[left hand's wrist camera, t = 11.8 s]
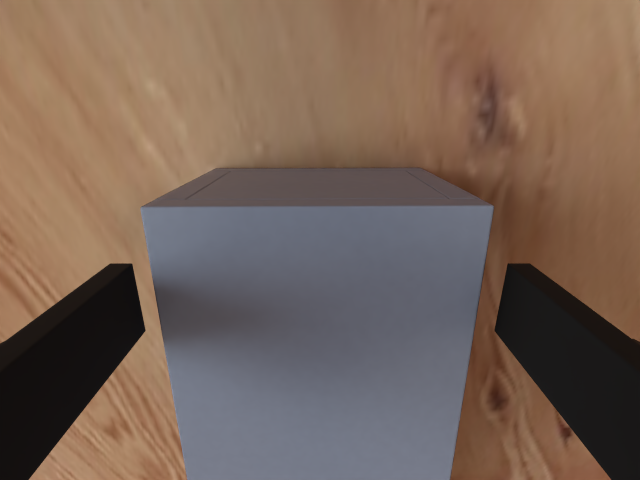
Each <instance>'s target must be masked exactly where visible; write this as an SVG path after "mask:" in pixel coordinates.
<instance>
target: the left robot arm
mask: <svg viewBox="0 0 640 480" xmlns="http://www.w3.org/2000/svg"><path fill="white" fill-rule="evenodd" d="M144 332H145V326H144V321H143V316H142V311H141V306H140V301H139V296H138V291H137V286H136V280H135V275H134V270H133V265H132V264H109V265H108V266H106V267H105V268H104V269H102V270H101V271H100V272H98V273H97V274H96V275H94V276H93V277H91V278H90V279H89V280H87V281H86V282H85V283H83V284H82V285H81V286H79V287H78V288H77V289H75V290H74V291H73V292H71V293H70V294H68V295H67V296H66V297H64V298H63V299H62V300H60V301H59V302H58V303H56V304H55V305H54V306H52V307H51V308H50V309H48V310H47V311H45V312H44V313H43V314H41V315H40V316H39V317H37V318H36V319H35V320H33V321H32V322H31V323H29V324H28V325H27V326H25V327H24V328H22V329H21V330H20V331H18V332H17V333H16V334H14V335H13V336H12V337H10V338H9V339H8V340H6V341H4V342H2V343H0V480H29V478H30V477H31V476H32V475H33V473H34V472H35V471H36V470H37V468H38V467H39V466H40V464H41V463H42V462H43V461H44V459H45V458H46V457H47V456H48V454H49V453H50V452H51V450H52V449H53V448H54V447H55V445H56V444H57V443H58V442H59V440H60V439H61V438H62V436H63V435H64V434H65V433H66V431H67V430H68V429H69V428H70V426H71V425H72V424H73V422H74V421H75V420H76V419H77V417H78V416H79V415H80V413H81V412H82V411H83V410H84V408H85V407H86V406H87V405H88V403H89V402H90V401H91V399H92V398H93V397H94V396H95V394H96V393H97V392H98V391H99V389H100V388H101V387H102V385H103V384H104V383H105V382H106V380H107V379H108V378H109V377H110V375H111V374H112V373H113V371H114V370H115V369H116V368H117V366H118V365H119V364H120V363H121V361H122V360H123V359H124V357H125V356H126V355H127V354H128V352H129V351H130V350H131V349H132V347H133V346H134V345H135V343H136V342H137V341H138V340H139V338H140V337H141V336H142V335H143V333H144ZM495 332H496V333H497V335H498V336H499V337H500V338H501V340H502V341H503V342H504V343H505V345H506V346H507V347H508V349H509V350H510V351H511V352H512V354H513V355H514V356H515V357H516V359H517V360H518V361H519V363H520V364H521V365H522V366H523V368H524V369H525V370H526V371H527V373H528V374H529V375H530V377H531V378H532V379H533V380H534V382H535V383H536V384H537V385H538V387H539V388H540V389H541V391H542V392H543V393H544V394H545V396H546V397H547V398H548V399H549V401H550V402H551V403H552V405H553V406H554V407H555V408H556V410H557V411H558V412H559V413H560V415H561V416H562V417H563V419H564V420H565V421H566V422H567V424H568V425H569V426H570V428H571V429H572V430H573V431H574V433H575V434H576V435H577V436H578V438H579V439H580V440H581V442H582V443H583V444H584V445H585V447H586V448H587V449H588V450H589V452H590V453H591V454H592V456H593V457H594V458H595V459H596V461H597V462H598V463H599V464H600V466H601V467H602V468H603V470H604V471H605V472H606V473H607V475H608V476H609V477H610V478H611V480H640V342H639V341H637V340H635V339H631V338H630V337H628V336H627V335H626V334H624V333H623V332H622V331H620V330H619V329H618V328H616V327H615V326H613V325H612V324H611V323H609V322H608V321H607V320H605V319H604V318H603V317H601V316H600V315H599V314H597V313H596V312H595V311H593V310H592V309H590V308H589V307H588V306H586V305H585V304H584V303H582V302H581V301H580V300H578V299H577V298H576V297H574V296H573V295H572V294H570V293H569V292H567V291H566V290H565V289H563V288H562V287H561V286H559V285H558V284H557V283H555V282H554V281H553V280H551V279H550V278H549V277H547V276H546V275H544V274H543V273H542V272H540V271H539V270H538V269H536V268H535V267H534V266H532V265H531V264H508V265H507V270H506V275H505V280H504V285H503V291H502V296H501V301H500V306H499V311H498V316H497V321H496V326H495Z"/></svg>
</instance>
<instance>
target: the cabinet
mask: <svg viewBox="0 0 640 480" xmlns="http://www.w3.org/2000/svg"><path fill="white" fill-rule="evenodd" d="M493 211H494V206H493V205H491V204H489V203H487V202H485V201H483V200H482V199H480V198H478V197H476V196H474V195H472V194H470V193H468V192H467V191H465V190H463V189H461V188H459V187H457V186H455V185H453V184H451V183H449V182H447V181H445V180H443V179H441V178H439V177H437V176H435V175H434V174H432V173H430V172H428V171H426V170H424V169H422V168H216V169H214V170H212V171H210V172H208V173H206V174H204V175H202V176H200V177H198V178H196V179H194V180H192V181H190V182H188V183H186V184H184V185H182V186H180V187H179V188H177V189H175V190H173V191H171V192H169V193H167V194H165V195H163V196H161V197H159V198H157V199H155V200H154V201H152V202H150V203H148V204H146V205H144V206H142V207H141V214H142V220H143V226H144V231H145V237H146V243H147V249H148V254H149V260H150V266H151V272H152V278H153V283H154V289H155V295H156V301H157V307H158V312H159V318H160V324H161V330H162V336H163V341H164V347H165V353H166V359H167V364H168V370H169V376H170V382H171V388H172V393H173V399H174V405H175V411H176V417H177V422H178V428H179V434H180V440H181V445H182V451H183V457H184V463H185V469H186V474H187V480H450V477H451V471H452V465H453V459H454V453H455V446H456V440H457V434H458V428H459V422H460V415H461V409H462V403H463V397H464V391H465V384H466V378H467V372H468V366H469V360H470V353H471V347H472V341H473V335H474V329H475V323H476V316H477V310H478V304H479V298H480V292H481V285H482V279H483V273H484V267H485V261H486V254H487V248H488V242H489V236H490V230H491V223H492V217H493Z"/></svg>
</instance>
